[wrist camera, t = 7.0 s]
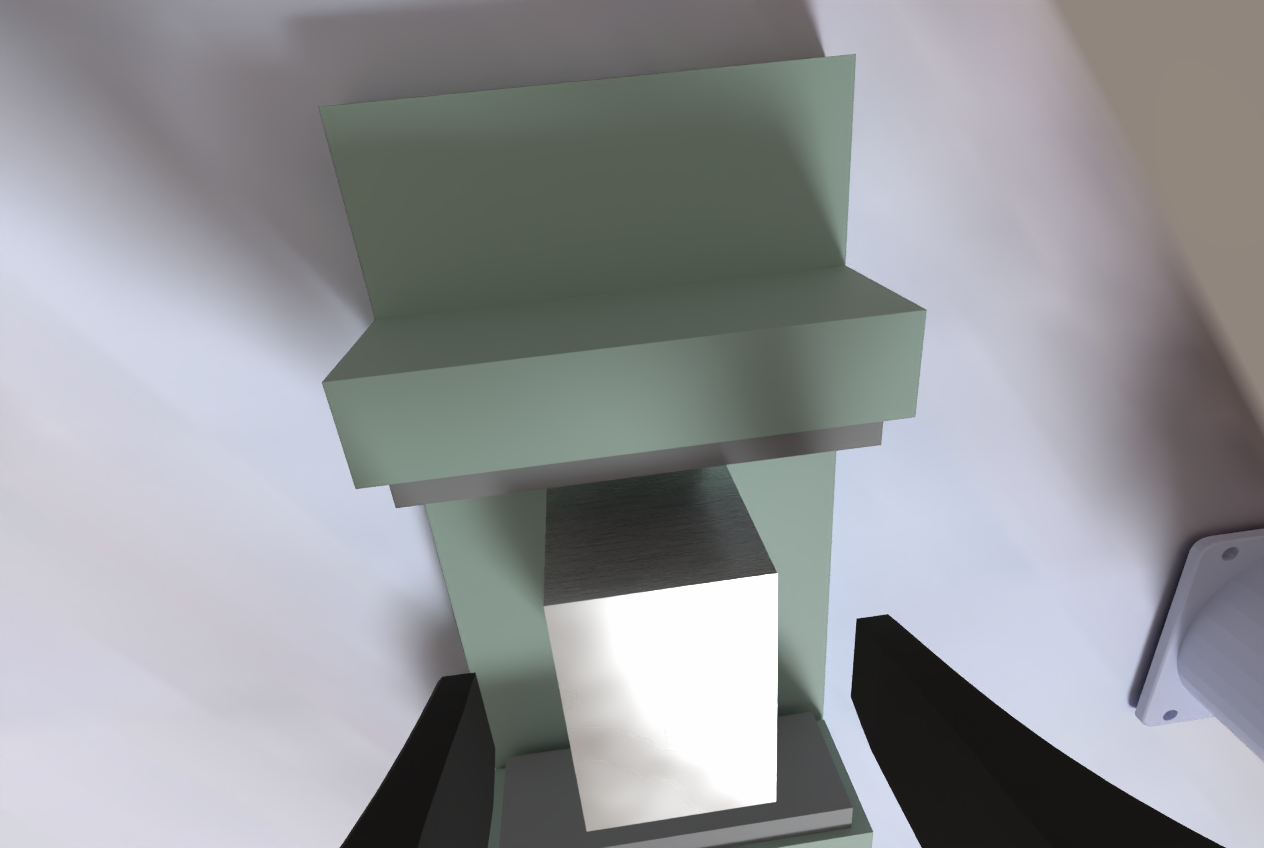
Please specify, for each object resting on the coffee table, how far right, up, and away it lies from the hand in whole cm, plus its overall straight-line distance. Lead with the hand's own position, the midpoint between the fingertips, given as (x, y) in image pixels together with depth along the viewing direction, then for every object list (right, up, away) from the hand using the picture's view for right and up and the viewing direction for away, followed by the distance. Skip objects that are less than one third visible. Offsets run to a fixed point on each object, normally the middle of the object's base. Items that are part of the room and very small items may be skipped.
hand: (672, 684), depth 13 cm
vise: (-1, +3, +6) cm, 6 cm away
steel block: (0, +2, +4) cm, 5 cm away
